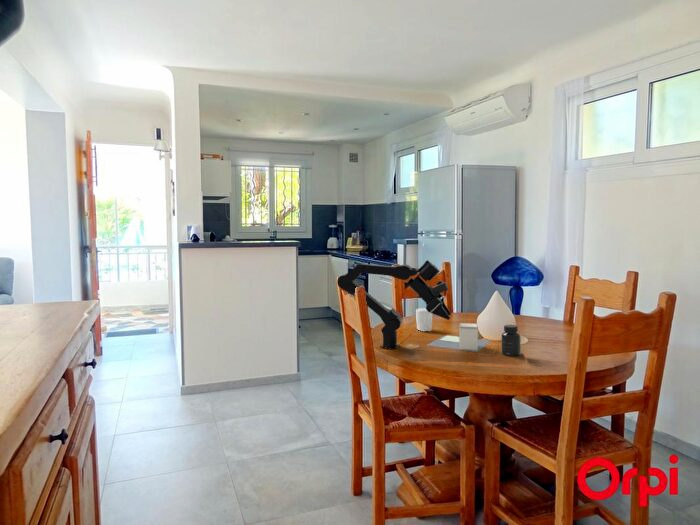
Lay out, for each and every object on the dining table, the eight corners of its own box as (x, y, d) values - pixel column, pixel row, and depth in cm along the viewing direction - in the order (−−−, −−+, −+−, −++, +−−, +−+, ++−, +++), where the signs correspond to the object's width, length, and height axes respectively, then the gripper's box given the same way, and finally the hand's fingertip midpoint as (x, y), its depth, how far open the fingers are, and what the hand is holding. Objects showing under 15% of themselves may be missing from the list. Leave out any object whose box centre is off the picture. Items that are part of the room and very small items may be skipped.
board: (476, 354, 186) (476, 342, 185) (426, 348, 197) (426, 336, 197) (491, 343, 203) (491, 332, 202) (444, 338, 214) (444, 327, 213)
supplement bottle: (505, 353, 187) (505, 323, 186) (523, 356, 182) (523, 325, 181) (498, 357, 181) (498, 326, 180) (516, 360, 177) (516, 328, 176)
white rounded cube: (477, 350, 188) (477, 327, 188) (459, 349, 190) (459, 326, 189) (477, 345, 195) (477, 323, 194) (459, 344, 197) (459, 323, 196)
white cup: (413, 331, 228) (413, 310, 227) (419, 328, 235) (419, 307, 234) (429, 332, 224) (429, 311, 224) (434, 329, 231) (434, 308, 231)
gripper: (434, 277, 184) (464, 307, 183) (437, 272, 202) (464, 299, 201) (414, 297, 187) (443, 326, 185) (418, 291, 205) (445, 317, 203)
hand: (449, 316), depth 193 cm, fingers open, 9 cm apart
